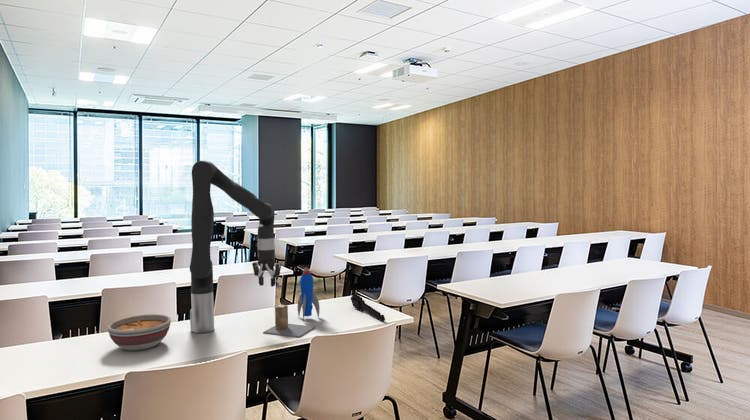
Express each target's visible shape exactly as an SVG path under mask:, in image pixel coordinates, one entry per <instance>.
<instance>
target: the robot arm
mask: <svg viewBox="0 0 750 420" xmlns="http://www.w3.org/2000/svg"><path fill="white" fill-rule="evenodd" d="M191 168H192V169H191V183H192V204H191V221H190V226H191V245H192V247H191V255H190V256H191V257H190V262H189V263H190V264H189V272H190V298H191V299H190V301H191V309H190V310H189V324H190V325H189V326H190V332H192V333H195V334H205V333H209V332H212V331H214V330H215V314H214V313H215V312H214V311H215V309H214V307H215V305H214V303H215V302H214V270H213V269H214V268H213V262H212V259H211V244H212V238H213V232H214V221H215V217H214V216H215V212H214V206H213V202H212V196H211V186H212V185H213V186H215V187H217V188H218V189H220V190H221V191H223V192H224V193H225V194H226V195H227V196H228V197H230V199H232V200H233V201H234V202H236V203H237V204H239V205H240V206H242V207H244V208H245V209H247V210H248V211H249V212H251V213H252V214H253V215H254V216H255V217H257V218H258V222H259V223H258V226H257V258H258V261H254V262H252V263H251V265H252V270H253V275H254V276H255V277H258V284H259V286H260V287H262V286H264V282H265V281H264V274H265V272H268V274H269V276H270V287H275V286H276V285H277V283H276V281H277V279H276V278H278V277H280V276H281V270H282V269H281V268H282V263H281V262H280V263H277V262H276V260H275V259H276V244H275V229H274V225H275V208H274V206H273V205H272V204H271V203H268V202H264V201H262V200H261V199H259V198H258V197H257V196H256V194H254V193H252V192H251V191H250V190H249V189H247V188H245V187H243V186H242V185H241V184H239V183H238V182H235V181H234V180H232V179H231V178H230V177H228V175H226V174H224V173H223V172H222V171H221V170H220V169H219V168H218V167H217V166H216V165H215V164H214V163H213V162H211V161H206V160H198V161H196V162H195V163H194V164H193V166H192V167H191Z"/></svg>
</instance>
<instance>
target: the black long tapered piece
mask: <svg viewBox="0 0 750 420" xmlns="http://www.w3.org/2000/svg"><path fill="white" fill-rule="evenodd" d="M350 300H351V303H352V306H353V307H354V308H355V310H356V309H357V310H359V311H363V312H364V311H365V313H367V314H368V315H370V316H372V317H373V318H375V319H376V320H377V321H379V320H380V322H381V323H383V322H385V321H386V318H385V317H386V316H385V315H384V314H381V312H379V311H377V309H375V308H374V307H372V306H370V305H369V304H367V303H366V301H365V300H364V299H363V297H362V296H361V295H359V294H357V293H356V292H354V293H352V295H351V297H350Z"/></svg>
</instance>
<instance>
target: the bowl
mask: <svg viewBox="0 0 750 420" xmlns="http://www.w3.org/2000/svg"><path fill="white" fill-rule="evenodd" d="M171 322H172V321H171V317H170V316H169V315H164V314H155V313H154V314H153V313H150V314H139V315H132V316H128V317H124V318H120V319H116V320H115V321H112V322H110V323H109V324H108V325H107V332H108V334H109V337H110V339H111V340H112V342H113V343H114V344H115V345H116V346H117V347H119V348H121V349H123V350H126V351H133V352H134V351H143V350H147V349H150V348H153V347H155V346H157V345H159V344H160V343H161V342H162V341H163V339H165V337H166V336H167V335H168V332H169V330H170V327H171Z"/></svg>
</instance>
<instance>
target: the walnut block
mask: <svg viewBox="0 0 750 420" xmlns="http://www.w3.org/2000/svg"><path fill="white" fill-rule="evenodd" d="M288 311H289V310H288V305H285V304H279V305H277V306H274V321H275V322H274V323H275V325H274V326H275V328H276V329H278V330H284V329H286V328H288V324H289V312H288Z"/></svg>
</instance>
